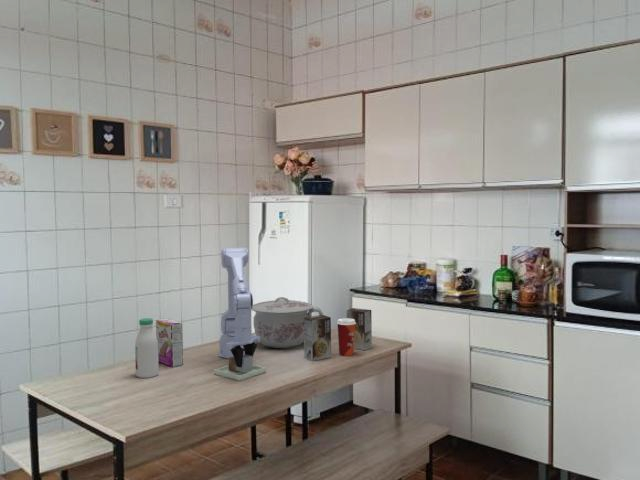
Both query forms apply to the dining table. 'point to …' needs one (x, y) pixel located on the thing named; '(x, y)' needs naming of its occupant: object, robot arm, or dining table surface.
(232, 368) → the walnut block
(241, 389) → the dining table surface
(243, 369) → the grey block
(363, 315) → the coffee box
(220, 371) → the tray
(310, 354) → the coffee box
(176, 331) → the candy bar box
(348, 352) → the paper cup
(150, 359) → the milk bottle
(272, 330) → the chamber pot
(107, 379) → the dining table surface
